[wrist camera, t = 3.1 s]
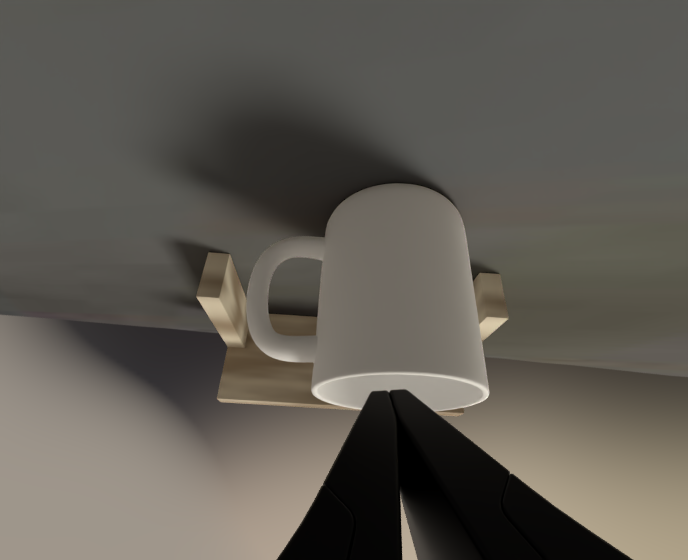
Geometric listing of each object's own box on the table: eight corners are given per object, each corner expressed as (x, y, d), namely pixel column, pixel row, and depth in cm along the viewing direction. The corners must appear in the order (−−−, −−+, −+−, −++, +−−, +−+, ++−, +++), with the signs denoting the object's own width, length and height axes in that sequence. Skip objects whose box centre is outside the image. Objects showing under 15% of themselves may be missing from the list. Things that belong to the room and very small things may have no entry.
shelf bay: (208, 252, 26) (177, 363, 22) (500, 274, 26) (521, 385, 23) (238, 317, 36) (220, 401, 32) (449, 332, 36) (458, 416, 33)
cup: (430, 270, 27) (443, 417, 22) (264, 247, 25) (236, 400, 20) (490, 192, 19) (529, 384, 14) (262, 153, 18) (218, 354, 13)
